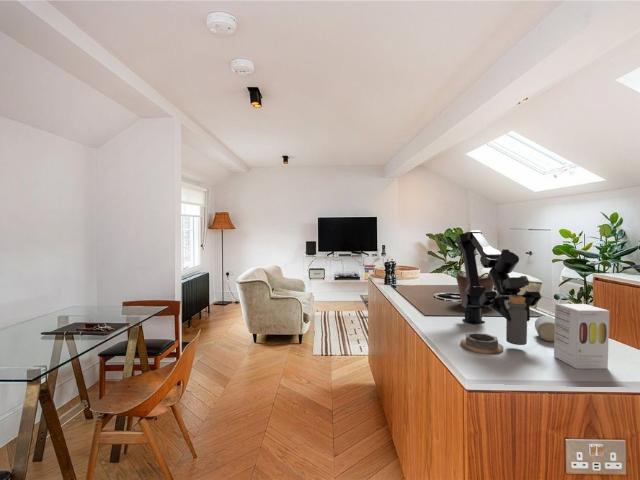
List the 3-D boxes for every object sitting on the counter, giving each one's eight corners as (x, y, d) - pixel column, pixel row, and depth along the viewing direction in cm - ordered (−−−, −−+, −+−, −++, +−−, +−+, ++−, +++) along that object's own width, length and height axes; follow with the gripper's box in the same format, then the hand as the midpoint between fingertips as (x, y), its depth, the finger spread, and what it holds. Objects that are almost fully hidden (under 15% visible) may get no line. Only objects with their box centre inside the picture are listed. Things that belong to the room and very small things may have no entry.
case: (504, 309, 164) (504, 273, 164) (464, 309, 164) (463, 273, 164) (486, 301, 182) (486, 269, 181) (450, 302, 182) (450, 269, 182)
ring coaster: (479, 338, 120) (480, 329, 120) (512, 350, 108) (512, 340, 108) (452, 343, 115) (452, 334, 115) (483, 356, 103) (483, 346, 103)
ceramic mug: (537, 340, 117) (537, 319, 117) (534, 334, 125) (534, 314, 124) (574, 346, 113) (575, 323, 112) (568, 338, 120) (569, 317, 120)
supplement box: (575, 369, 93) (576, 310, 93) (552, 356, 103) (553, 303, 102) (609, 369, 93) (610, 310, 93) (583, 356, 103) (584, 302, 102)
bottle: (502, 339, 112) (503, 295, 111) (518, 338, 113) (519, 295, 112) (513, 345, 106) (514, 299, 106) (531, 344, 107) (531, 299, 106)
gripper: (483, 267, 113) (499, 307, 102) (538, 267, 112) (561, 307, 102) (472, 286, 121) (487, 325, 110) (524, 286, 120) (543, 325, 110)
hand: (519, 320), depth 108 cm, fingers closed on bottle, 6 cm apart
